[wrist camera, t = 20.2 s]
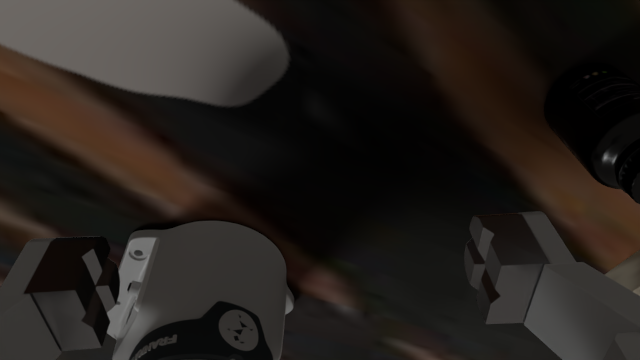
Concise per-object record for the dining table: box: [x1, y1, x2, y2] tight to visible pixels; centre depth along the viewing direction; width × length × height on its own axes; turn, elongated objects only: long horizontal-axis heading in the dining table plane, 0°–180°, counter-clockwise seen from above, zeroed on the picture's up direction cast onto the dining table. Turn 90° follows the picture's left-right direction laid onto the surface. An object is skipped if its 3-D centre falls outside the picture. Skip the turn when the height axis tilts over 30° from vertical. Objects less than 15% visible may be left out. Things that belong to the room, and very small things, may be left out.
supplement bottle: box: [544, 63, 640, 204], centre depth 38 cm, size 7×7×12 cm
